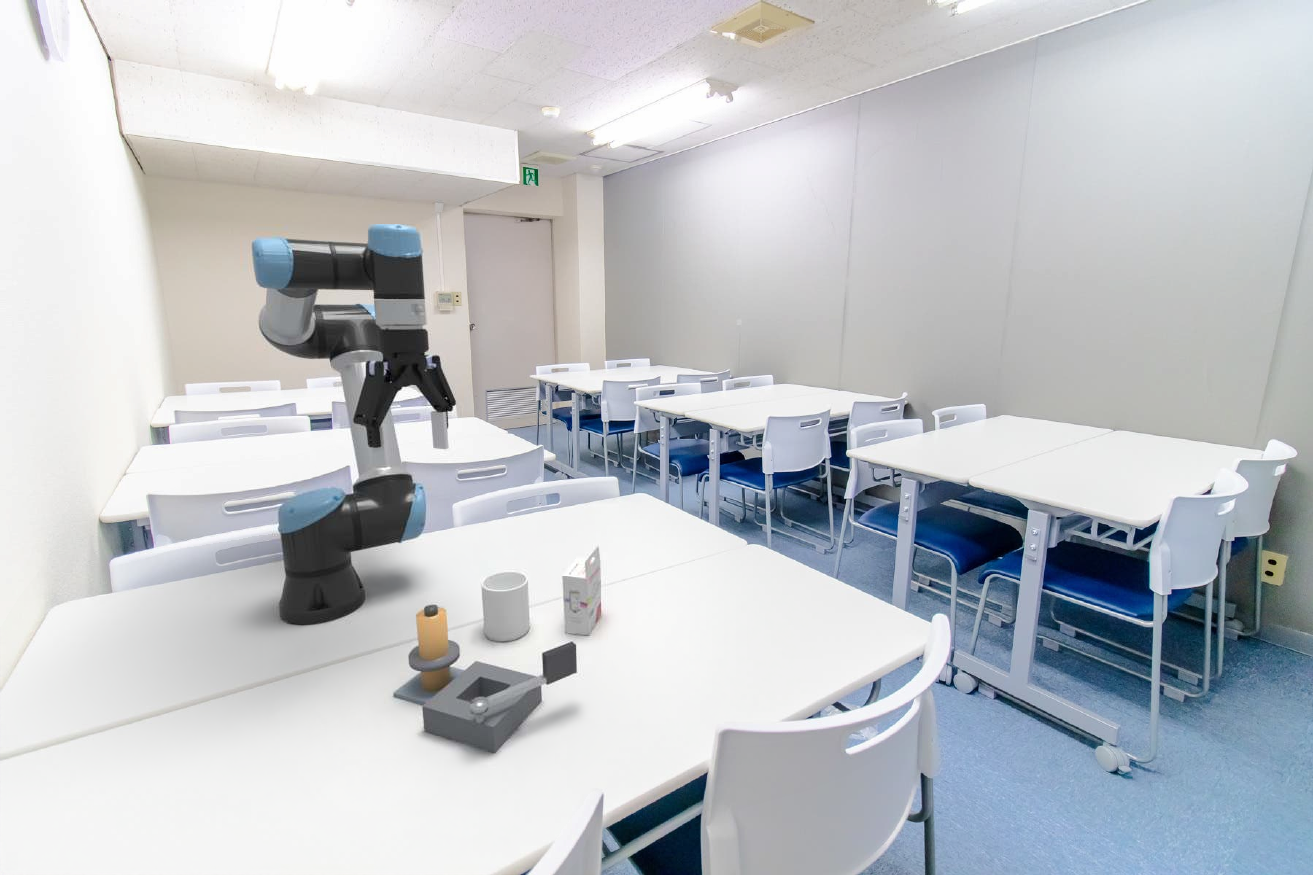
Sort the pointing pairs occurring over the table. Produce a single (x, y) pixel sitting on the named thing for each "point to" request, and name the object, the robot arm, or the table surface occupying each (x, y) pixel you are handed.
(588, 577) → the ink cartridge box
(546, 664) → the grey lever
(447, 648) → the plug
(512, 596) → the cup
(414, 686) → the mat
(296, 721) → the table surface
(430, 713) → the socket block
